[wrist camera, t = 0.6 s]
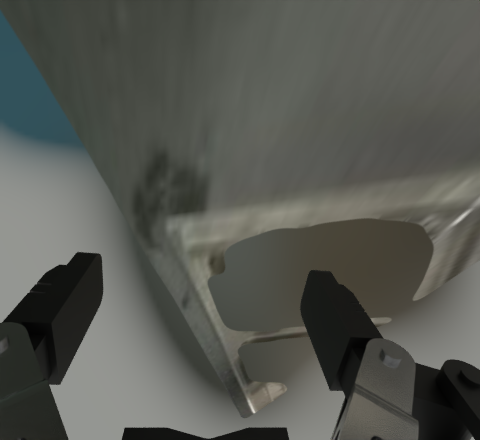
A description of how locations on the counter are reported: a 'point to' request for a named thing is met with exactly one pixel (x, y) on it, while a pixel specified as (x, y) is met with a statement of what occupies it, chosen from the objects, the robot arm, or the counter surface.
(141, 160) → the counter surface
